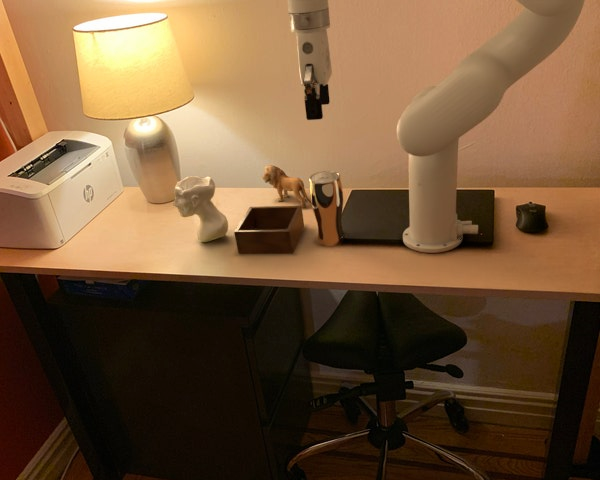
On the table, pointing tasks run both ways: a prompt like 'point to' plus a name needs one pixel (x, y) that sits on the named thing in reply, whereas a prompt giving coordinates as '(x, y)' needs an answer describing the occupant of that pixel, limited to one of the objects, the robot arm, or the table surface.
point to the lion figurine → (285, 183)
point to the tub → (269, 239)
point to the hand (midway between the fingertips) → (318, 111)
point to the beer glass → (327, 206)
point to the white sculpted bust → (201, 206)
